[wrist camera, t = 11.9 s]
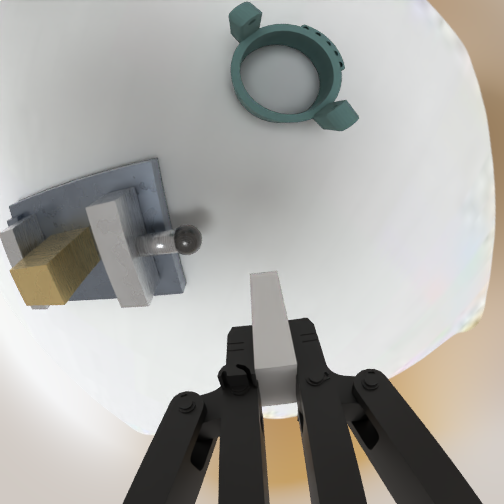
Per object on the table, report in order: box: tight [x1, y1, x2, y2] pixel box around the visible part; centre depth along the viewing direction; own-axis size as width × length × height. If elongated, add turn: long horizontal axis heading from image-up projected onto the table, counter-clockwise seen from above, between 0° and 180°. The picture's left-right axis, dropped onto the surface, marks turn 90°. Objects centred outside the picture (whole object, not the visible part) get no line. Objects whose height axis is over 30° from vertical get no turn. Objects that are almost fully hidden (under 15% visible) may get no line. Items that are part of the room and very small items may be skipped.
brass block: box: [10, 227, 100, 306], centre depth 22 cm, size 4×6×8 cm, turn 97°
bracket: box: [229, 2, 359, 131], centre depth 17 cm, size 9×9×9 cm
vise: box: [0, 158, 186, 309], centre depth 24 cm, size 14×21×6 cm, turn 97°
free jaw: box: [86, 187, 202, 308], centre depth 23 cm, size 10×9×4 cm
